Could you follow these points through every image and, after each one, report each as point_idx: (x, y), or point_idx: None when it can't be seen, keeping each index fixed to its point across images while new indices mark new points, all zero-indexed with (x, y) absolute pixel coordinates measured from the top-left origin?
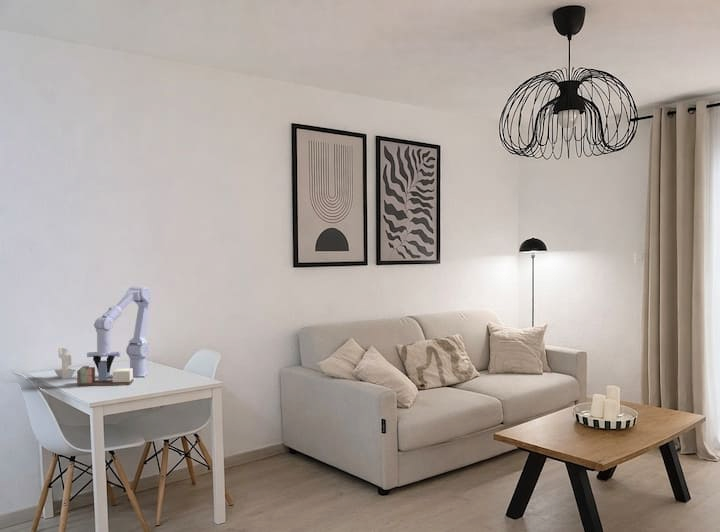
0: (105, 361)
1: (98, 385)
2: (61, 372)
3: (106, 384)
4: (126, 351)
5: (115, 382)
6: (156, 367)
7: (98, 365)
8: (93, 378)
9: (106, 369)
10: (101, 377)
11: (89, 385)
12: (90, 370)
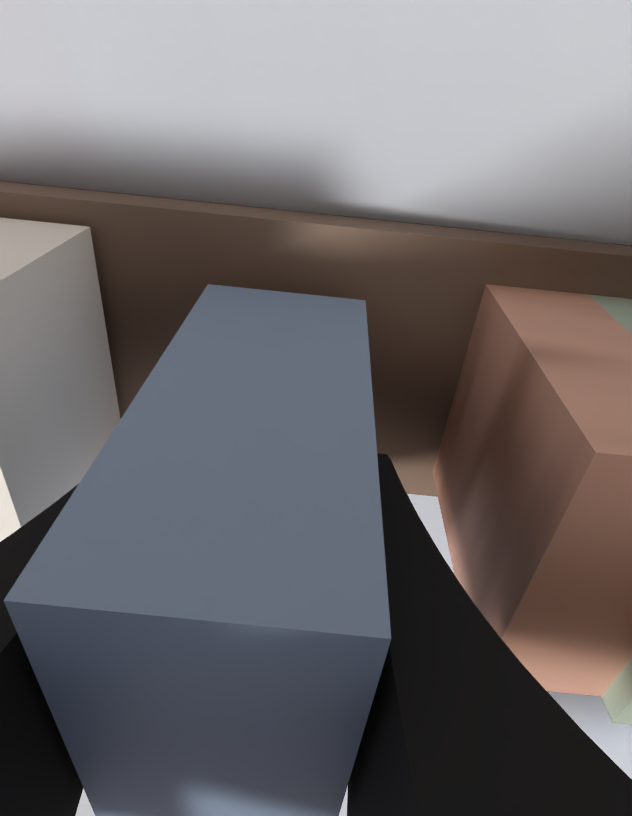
0: (162, 766)
1: (357, 219)
2: None
3: (211, 206)
4: None
5: None
6: None
7: (379, 535)
8: (465, 425)
9: (133, 417)
10: (301, 314)
11: (517, 236)
12: (611, 431)
